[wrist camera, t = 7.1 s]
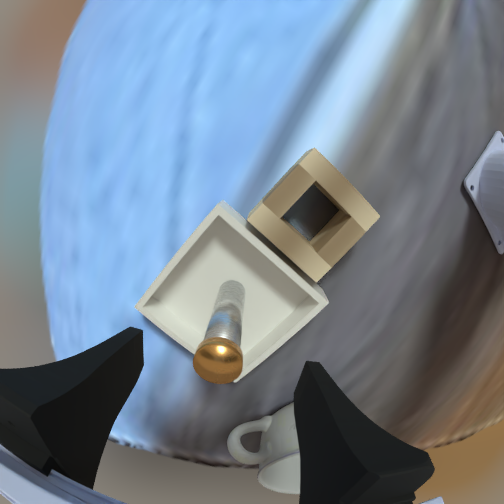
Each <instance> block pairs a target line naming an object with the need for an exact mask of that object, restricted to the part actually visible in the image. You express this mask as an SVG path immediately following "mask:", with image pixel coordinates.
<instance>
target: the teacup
mask: <svg viewBox="0 0 504 504" xmlns="http://www.w3.org/2000/svg"><path fill="white" fill-rule="evenodd" d="M255 431H262V435H261V443H260V449H259V451H258V452H257V453H252V452H249V451H247V450H246V449H244V448H243V446H242V444H241V442H240V438H241V436H242V435H244V434H246V433H250V432H255ZM227 447H228V450H229V453H230V454H231V455H232V457H233V458H234V459H236V460H237V461H239V462H241V463H244V464H249V465H252V464H258V463H259V472H258V477H257V478H258V481H259V483H260V484H261V485H262V486H264V487H265V488H268V489H270V490H273V491H276V492H281V493H288V494H300V451H299V444H298V438H297V431H296V424H295V417H294V402H293V403H290V404H289V405H287V406H285V407H283V408H281V409H280V410H278V411H277V412H276V413H274V414H273V415H272V416H264V417H262V418H261V419H260V420H255V421H250V422H246V423H243V424H241V425H239V426H237V427H236V428H234V429H233V430H232V432H231V433H230V435H229V436H228V440H227Z"/></svg>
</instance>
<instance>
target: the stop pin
mask: <svg viewBox="0 0 504 504" xmlns="http://www.w3.org/2000/svg"><path fill="white" fill-rule="evenodd" d="M244 303H245V288H244V286H243V285H242V284H241V283H240V282H238V281H235V280H229V281H226V282H224V283H223V284H222V285H221V286H220V288H219V292H218V295H217V298H216V301H215V304H214V308H213V311H212V314H211V317H210V320H209V324H208V327H207V330H206V333H205V337H204V340H203V341H202V342H201V343H200V344H199V345H198V347H197V349H196V352H195V356H194V359H193V367H194V369H195V371H196V373H197V374H198V375H199V376H200V377H201V378H203V379H204V380H206V381H209V382H212V383H216V384H225V383H230V382H232V381H234V380H236V379H237V378H238V377H239V376H240V375H241V373H242V368H243V353H242V350H241V349H240V345H241V335H242V324H243V314H244Z"/></svg>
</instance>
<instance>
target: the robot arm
mask: <svg viewBox="0 0 504 504" xmlns="http://www.w3.org/2000/svg"><path fill="white" fill-rule="evenodd" d="M464 187H465V188H466V190H467V192H468V194H469V195H470V197H471V199H472V201H473V202H474V204H475V206H476V208H477V210H478V211H479V213H480V215H481V217H482V219H483V221H484V223H485V225H486V227H487V229H488V231H489V233H490V235H491V238H492V240H493V242H494V244H495V246H496V249H497V251H498V253H499V254H503V253H504V137H503V135H502V133H501V132H500V131H496V132H495V134H494V136H493V137H492V139H491V141H490V142H489V144H488V145H487V147H486V148H485V150H484V152H483V153H482V155H481V156H480V158H479V159H478V161H477V162H476V164H475V165H474V167H473V168H472V169H471V171H470V172H469V174H468V175H467V177H466V178H465V180H464ZM470 187H472V189H470ZM498 242H499V243H498ZM143 366H144V357H143V330H141V329H137V328H134V327H129V328H127V329H125V330H123V331H122V332H120V333H118V334H116V335H115V336H113V337H111V338H109V339H107V340H106V341H104V342H102V343H100V344H98V345H96V346H94V347H92V348H90V349H88V350H86V351H84V352H82V353H79V354H77V355H75V356H72V357H69V358H66V359H63V360H60V361H57V362H53V363H49V364H45V365H40V366H35V367H27V368H17V369H0V494H1V495H2V496H4V497H5V498H6V499H7V500H9V501H10V502H11V503H13V504H127V503H124V502H121V501H118V500H116V499H113V498H111V497H108V496H106V495H103V494H101V493H99V492H96V491H94V490H93V486H94V482H95V477H96V474H97V470H98V466H99V463H100V459H101V456H102V453H103V450H104V447H105V445H106V442H107V439H108V437H109V434H110V431H111V429H112V426H113V424H114V422H115V420H116V418H117V416H118V414H119V412H120V411H121V409H122V407H123V405H124V404H125V402H126V400H127V399H128V397H129V395H130V393H131V392H132V390H133V388H134V386H135V385H136V383H137V381H138V378H139V376H140V373H141V371H142V368H143ZM294 417H295V424H296V431H297V438H298V444H299V451H300V501H299V504H413V503H412V501H414V500H415V498H416V497H415V494H414V492H415V491H416V490H417V489H418V488H419V487H421V486H422V485H423V484H424V483H425V482H426V481H427V480H428V479H429V478H430V477H431V476H432V474H433V473H434V470H435V468H434V466H433V463H432V462H431V459H430V457H429V455H428V453H427V452H425V451H423V450H420V449H418V448H416V447H413V446H411V445H409V444H407V443H405V442H403V441H401V440H399V439H397V438H396V437H394V436H392V435H391V434H389V433H388V432H386V431H385V430H383V429H382V428H380V427H379V426H378V425H376V424H375V423H374V422H372V421H371V420H370V419H369V418H368V417H367V416H366V415H364V414H363V413H362V412H361V411H360V410H359V409H358V408H357V407H356V406H355V405H354V404H353V403H352V402H351V401H350V400H349V399H348V398H347V396H346V395H345V394H344V393H343V392H342V391H341V389H340V388H339V387H338V386H337V384H336V383H335V382H334V381H333V379H332V378H331V377H330V375H329V374H328V373H327V372H326V370H325V369H324V368H323V366H322V365H321V364H320V363H319V362H312V361H306V363H305V365H304V368H303V371H302V373H301V376H300V379H299V381H298V384H297V386H296V389H295V392H294ZM420 504H444V502H443V499H442V497H437V498H434V499H431V500H428V501H425V502H422V503H420Z"/></svg>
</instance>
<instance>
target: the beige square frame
mask: <svg viewBox="0 0 504 504" xmlns="http://www.w3.org/2000/svg"><path fill="white" fill-rule="evenodd" d="M312 184H314V185H315V186H316V187H317V188H318V189H319V190H320V191H321V192H322V193H323V194H324V195H325V196H326V197H327V198H328V199H329V200H330V201H331V202H332V203H333V204H334V205H335V206H336V207H337V208H338V209H339V211H338V212H337V213H336V214H335V215H334V216H333V217H332V219H331V220H330V221H329V222H328V223H327V224H326V225H325V226H324V227H323V228H322V229H321V230H320V231H319V232H318V233H317V234H316V235H315V236H314V237H313V238H312V239H311V241H310V242H309V241H308V240H307V239H306V238H305V237H304V236H303V235H302V234H301V233H299V232H298V231H297V230H296V229H295V228H294V227H293V226H292V225H291V224H290V223H289V222H288V221H287V220H285V219H284V218H283V217H282V216H283V215H284V214H285V213H286V212H287V211H288V210H289V209H290V207H291V206H292V205H293V204H294V203H295V202H296V201H297V200H298V199H299V198H300V197H301V196H302V195H303V194H304V193H305V192H306V190H307V189H308V188H309V187H310V186H311V185H312ZM379 217H380V215H379V214H378V213H377V212H376V211H375V210H374V209H373V207H372V206H371V205H370V204H369V203H368V202H367V201H366V200H365V199H364V197H363V196H362V195H361V194H360V193H359V192H358V191H357V190H356V189H355V188H354V187H353V186H352V185H351V183H350V182H349V181H348V180H347V179H346V178H345V177H344V176H343V175H342V174H341V173H340V172H339V171H338V170H337V169H336V168H335V167H334V166H333V165H332V164H331V163H330V162H329V161H328V160H327V159H326V158H325V157H324V156H323V155H322V154H321V153H320V152H319V151H318V150H317V149H316V148H313V149H311V150H308V151H306V153H305V154H304V155H303V156H302V157H301V158H300V159H299V160H298V161H297V162H296V163H295V164H294V165H293V166H292V167H291V168H290V169H289V170H288V172H287V173H286V174H285V175H284V176H283V177H282V178H281V179H280V180H279V181H278V182H277V183H276V184H275V185H274V187H273V188H272V189H271V190H270V191H269V192H268V193H267V194H266V195H265V196H264V197H263V198H262V200H261V201H260V202H259V203H258V204H257V205H256V206H255V207H254V208H253V209H252V210H251V212H250V213H249V215H248V218H247V221H248V222H249V223H251V224H252V225H253V226H254V227H255V228H256V229H257V230H258V231H260V232H261V233H262V234H263V235H264V236H265V237H266V238H267V239H269V240H270V241H271V242H272V243H273V244H274V245H275V246H276V247H277V248H279V249H280V250H281V251H282V252H283V253H284V254H285V255H286V256H287V257H289V258H290V259H291V260H292V261H293V262H294V263H295V264H296V265H297V266H299V267H300V268H301V269H302V270H303V271H304V272H305V273H306V274H307V275H308V276H310V277H311V278H312V279H313V280H314V281H315V282H316V283H317V282H318V281H319V280H320V279H321V278H322V277H323V276H324V275H325V274H326V273H327V272H328V271H329V270H330V269H331V268H332V267H333V266H334V265H335V264H336V263H337V262H338V261H339V260H340V259H341V258H342V257H343V255H344V254H345V253H346V252H347V251H348V250H349V249H350V248H351V247H352V246H353V245H354V244H355V243H356V242H357V241H358V240H359V239H360V238H361V237H362V236H363V235H364V233H365V232H366V231H367V230H368V229H369V228H370V227H371V226H372V225H373V224H374V223H375V222H376V220H377V219H378V218H379Z"/></svg>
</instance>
